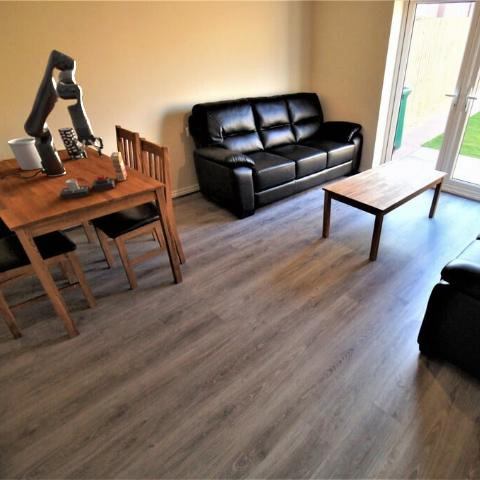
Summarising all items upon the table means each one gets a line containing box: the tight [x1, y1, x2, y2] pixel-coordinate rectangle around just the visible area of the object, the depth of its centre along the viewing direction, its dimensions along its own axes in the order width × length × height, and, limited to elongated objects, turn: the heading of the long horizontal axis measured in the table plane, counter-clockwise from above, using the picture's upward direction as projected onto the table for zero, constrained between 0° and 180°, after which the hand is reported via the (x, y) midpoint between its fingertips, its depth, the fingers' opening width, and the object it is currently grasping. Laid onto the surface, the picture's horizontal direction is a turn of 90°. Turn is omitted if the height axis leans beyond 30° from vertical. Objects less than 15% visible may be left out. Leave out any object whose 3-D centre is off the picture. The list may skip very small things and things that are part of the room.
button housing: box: [91, 176, 116, 192], centre depth 186 cm, size 10×9×5 cm
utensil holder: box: [7, 137, 43, 171], centre depth 211 cm, size 15×15×18 cm
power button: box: [96, 174, 107, 180], centre depth 185 cm, size 4×4×2 cm
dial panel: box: [59, 184, 91, 201], centre depth 177 cm, size 12×10×3 cm
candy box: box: [110, 151, 128, 182], centre depth 195 cm, size 9×4×15 cm, turn 20°
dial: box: [65, 178, 80, 191], centre depth 175 cm, size 5×5×5 cm
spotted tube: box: [57, 127, 84, 160], centre depth 227 cm, size 8×8×20 cm
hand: (93, 157), depth 178 cm, fingers open, 6 cm apart
